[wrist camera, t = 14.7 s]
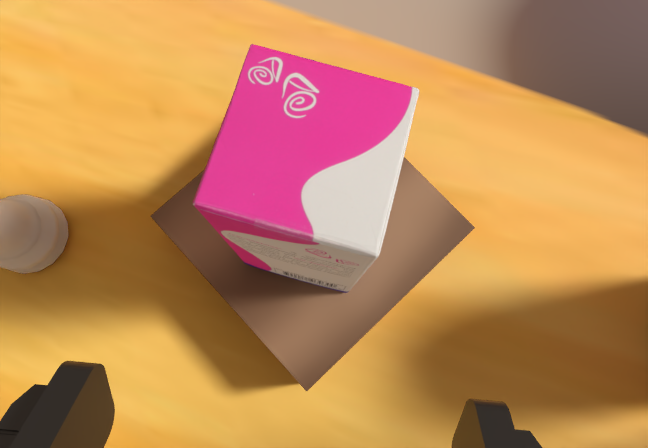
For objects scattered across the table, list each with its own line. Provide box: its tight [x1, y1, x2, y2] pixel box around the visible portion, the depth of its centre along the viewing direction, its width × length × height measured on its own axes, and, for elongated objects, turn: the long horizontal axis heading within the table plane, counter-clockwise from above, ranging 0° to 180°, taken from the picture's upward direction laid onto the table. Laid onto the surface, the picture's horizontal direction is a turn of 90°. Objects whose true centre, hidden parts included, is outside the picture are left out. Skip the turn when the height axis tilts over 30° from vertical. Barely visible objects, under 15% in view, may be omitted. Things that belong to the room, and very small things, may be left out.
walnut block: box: [151, 157, 475, 391], centre depth 28 cm, size 12×12×4 cm
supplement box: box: [193, 44, 419, 293], centre depth 20 cm, size 6×6×12 cm
